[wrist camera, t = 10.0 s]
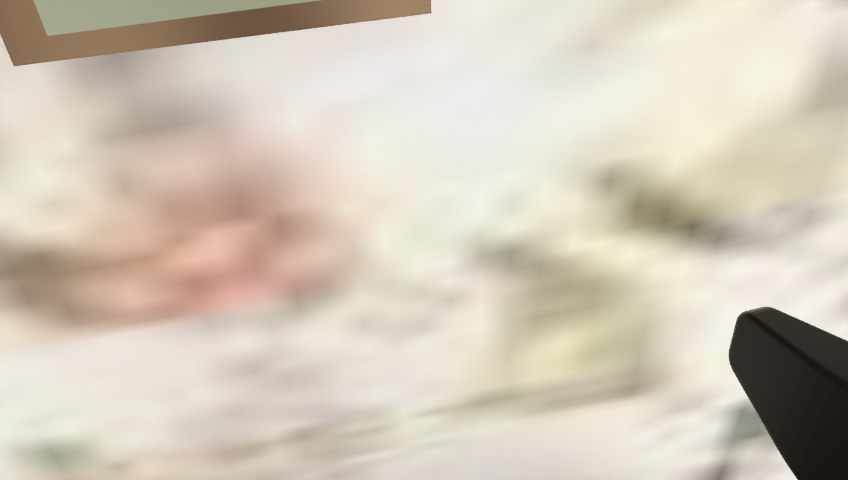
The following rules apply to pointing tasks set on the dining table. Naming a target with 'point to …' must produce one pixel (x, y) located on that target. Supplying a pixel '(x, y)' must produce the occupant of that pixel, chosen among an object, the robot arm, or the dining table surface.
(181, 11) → the sage cube
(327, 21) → the walnut block
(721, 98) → the dining table surface
